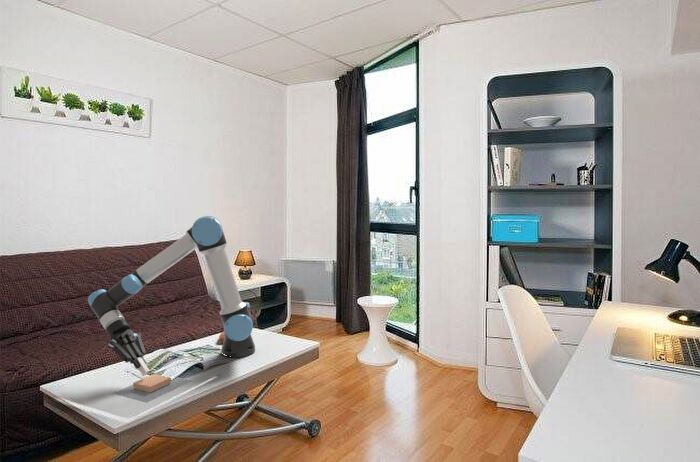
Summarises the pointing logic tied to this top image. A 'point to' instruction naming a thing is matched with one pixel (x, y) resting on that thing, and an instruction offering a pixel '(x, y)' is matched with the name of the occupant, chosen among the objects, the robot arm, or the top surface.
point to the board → (147, 396)
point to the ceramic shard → (221, 337)
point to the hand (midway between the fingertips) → (146, 373)
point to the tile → (152, 383)
